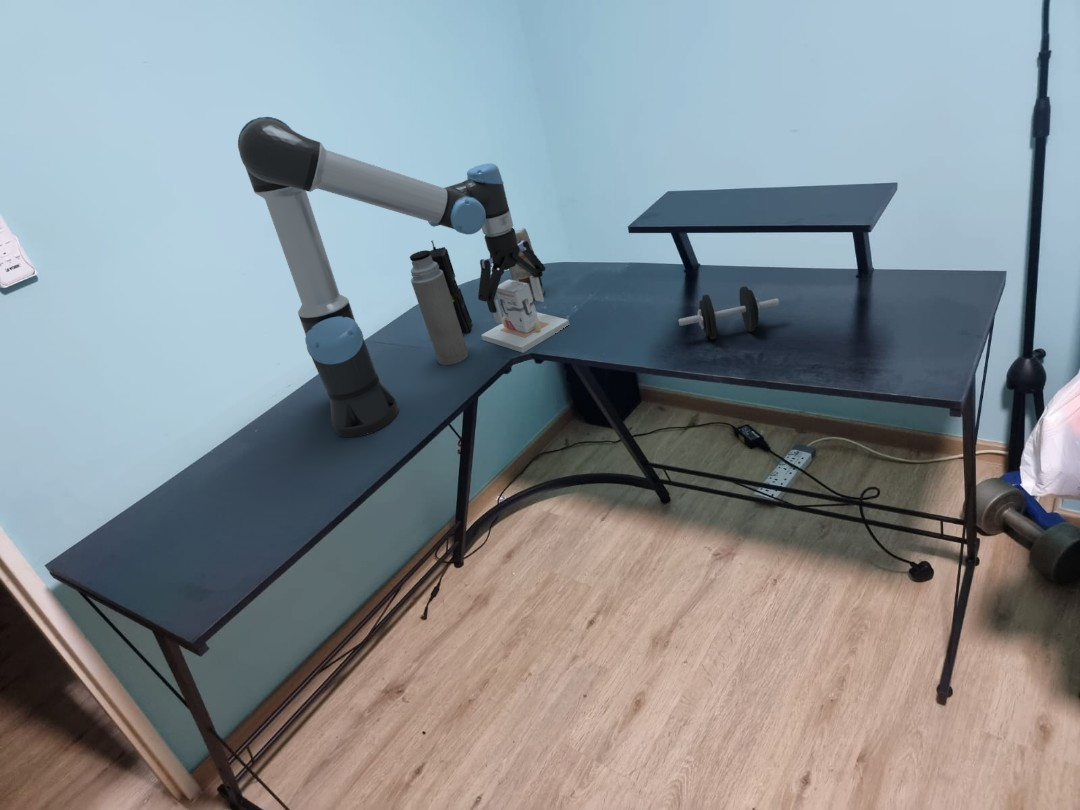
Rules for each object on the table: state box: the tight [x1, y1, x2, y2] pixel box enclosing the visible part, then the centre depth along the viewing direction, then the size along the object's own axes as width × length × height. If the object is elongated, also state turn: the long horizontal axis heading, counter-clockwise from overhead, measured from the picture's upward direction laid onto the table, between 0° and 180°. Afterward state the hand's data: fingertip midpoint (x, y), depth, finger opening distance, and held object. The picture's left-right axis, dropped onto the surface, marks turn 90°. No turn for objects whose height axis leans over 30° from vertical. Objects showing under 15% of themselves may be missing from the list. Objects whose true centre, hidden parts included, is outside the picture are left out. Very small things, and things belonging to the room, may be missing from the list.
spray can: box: [508, 227, 545, 300], centre depth 200 cm, size 8×8×20 cm
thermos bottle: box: [409, 249, 469, 366], centre depth 174 cm, size 8×8×28 cm
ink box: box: [496, 279, 540, 333], centre depth 179 cm, size 9×5×12 cm, turn 41°
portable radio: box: [429, 240, 473, 335], centre depth 188 cm, size 8×6×25 cm
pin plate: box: [481, 311, 570, 354], centre depth 182 cm, size 16×17×4 cm
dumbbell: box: [677, 285, 780, 340], centre depth 155 cm, size 22×10×10 cm, turn 89°
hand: (520, 311), depth 180 cm, fingers open, 13 cm apart
